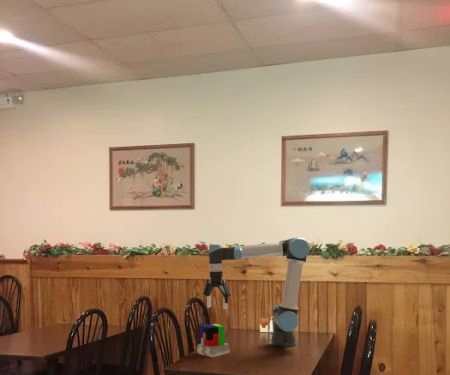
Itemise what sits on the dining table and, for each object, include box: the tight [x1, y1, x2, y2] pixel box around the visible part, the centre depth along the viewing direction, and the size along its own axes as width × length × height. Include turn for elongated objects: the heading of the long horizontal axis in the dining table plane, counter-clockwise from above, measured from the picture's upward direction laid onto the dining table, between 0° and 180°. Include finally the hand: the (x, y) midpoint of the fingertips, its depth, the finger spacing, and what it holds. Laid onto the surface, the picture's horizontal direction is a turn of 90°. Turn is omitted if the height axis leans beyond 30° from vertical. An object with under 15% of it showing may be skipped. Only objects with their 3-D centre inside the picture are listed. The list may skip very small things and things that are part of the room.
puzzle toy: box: [200, 323, 225, 347], centre depth 266 cm, size 10×10×10 cm
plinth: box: [196, 342, 231, 358], centre depth 266 cm, size 13×13×5 cm
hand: (217, 308), depth 272 cm, fingers open, 13 cm apart
